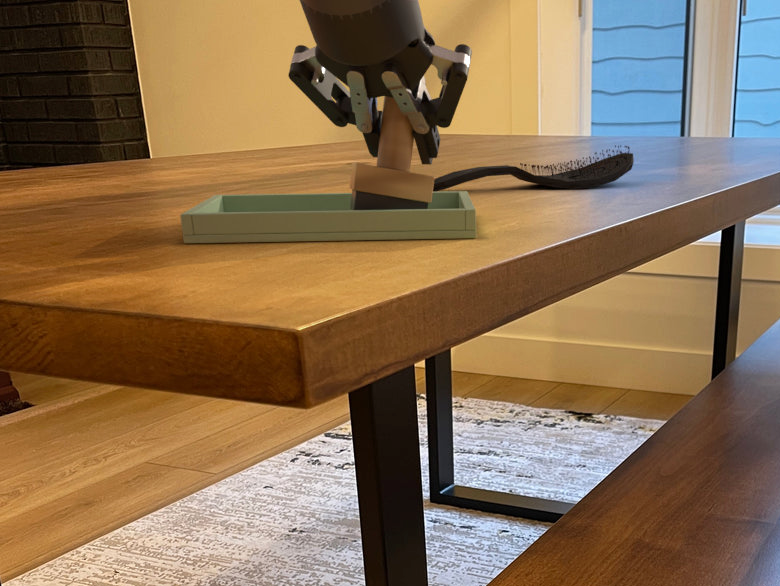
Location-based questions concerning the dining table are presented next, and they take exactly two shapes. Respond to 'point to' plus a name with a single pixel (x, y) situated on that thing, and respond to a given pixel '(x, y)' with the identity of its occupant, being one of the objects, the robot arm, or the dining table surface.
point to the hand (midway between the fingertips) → (407, 155)
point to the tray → (323, 219)
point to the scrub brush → (391, 169)
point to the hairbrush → (568, 179)
